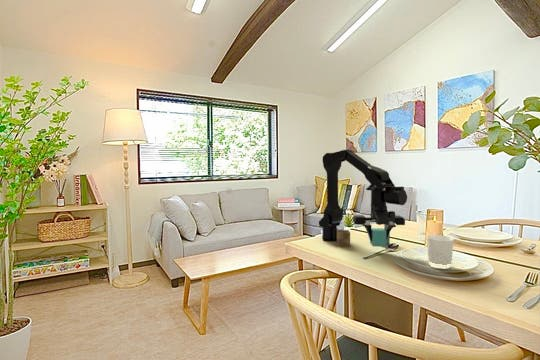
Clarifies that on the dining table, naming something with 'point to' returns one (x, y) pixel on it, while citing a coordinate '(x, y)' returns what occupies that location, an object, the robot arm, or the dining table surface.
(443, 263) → the white cup
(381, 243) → the teal block
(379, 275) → the dining table surface
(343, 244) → the walnut block
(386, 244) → the grey block
